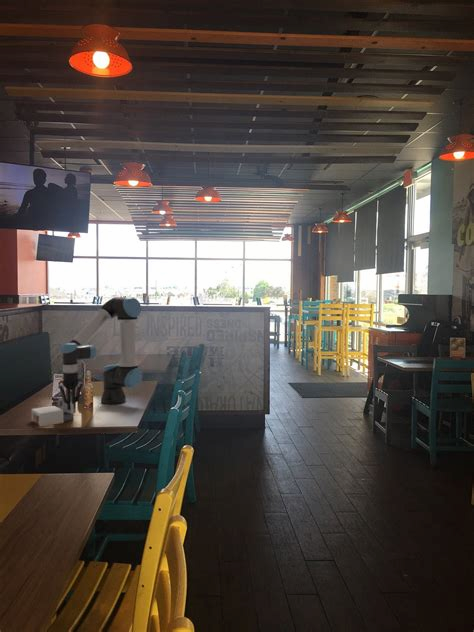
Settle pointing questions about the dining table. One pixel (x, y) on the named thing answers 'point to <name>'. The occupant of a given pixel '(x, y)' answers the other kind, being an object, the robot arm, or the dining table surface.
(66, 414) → the grey storage tray
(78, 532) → the dining table surface
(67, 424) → the dining table surface
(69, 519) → the dining table surface
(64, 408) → the cup
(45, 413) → the small white side table
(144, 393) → the dining table surface
